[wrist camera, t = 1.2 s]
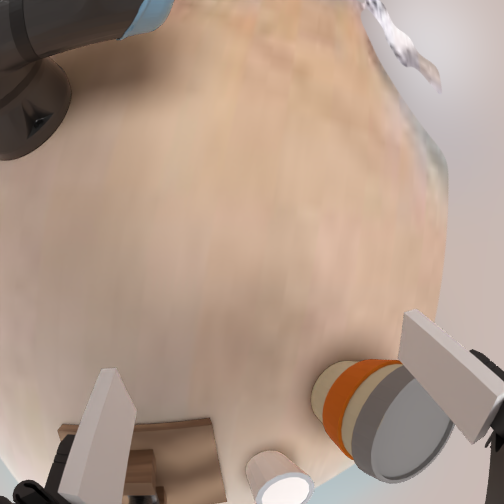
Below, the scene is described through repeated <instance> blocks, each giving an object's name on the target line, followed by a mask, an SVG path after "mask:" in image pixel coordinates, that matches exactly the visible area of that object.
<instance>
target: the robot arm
mask: <svg viewBox="0 0 504 504" xmlns="http://www.w3.org/2000/svg"><path fill="white" fill-rule="evenodd" d="M173 3H174V0H0V160H11V159H15V158H18V157H21V156H23V155H26V154H28V153H29V152H31V151H33V150H34V149H36V148H37V147H38V146H40V145H41V144H42V143H43V142H44V141H46V140H47V139H48V138H49V137H50V136H51V135H52V133H53V132H54V131H55V130H56V129H57V127H58V126H59V124H60V123H61V121H62V120H63V118H64V116H65V114H66V112H67V110H68V107H69V104H70V99H71V88H70V84H69V81H68V78H67V76H66V73H65V72H64V70H63V69H62V68H61V67H60V66H59V65H58V64H56V63H55V62H54V61H53V60H52V59H51V58H50V57H49V56H52V55H55V54H58V53H61V52H65V51H68V50H72V49H75V48H79V47H82V46H86V45H90V44H94V43H98V42H103V41H107V40H112V39H116V40H122V39H124V38H126V37H128V36H133V35H138V34H143V33H148V32H151V31H154V30H156V29H157V28H158V27H159V26H161V25H162V24H163V23H164V22H165V20H166V19H167V17H168V15H169V13H170V11H171V8H172V5H173ZM398 359H399V360H400V362H401V363H402V364H403V365H404V366H405V367H406V368H407V369H408V371H409V372H410V373H411V374H412V375H413V376H414V377H415V379H416V380H417V381H418V382H419V383H420V384H421V385H422V386H423V388H424V389H425V390H426V391H427V392H428V393H429V395H430V396H431V397H432V398H433V399H434V400H435V401H436V403H437V404H438V405H439V406H440V407H441V408H442V410H443V411H444V412H445V413H446V414H447V416H448V417H449V418H450V419H451V420H452V421H453V423H454V424H455V425H456V426H457V427H458V429H459V430H460V431H461V432H462V433H463V435H464V436H465V437H466V438H467V439H468V441H469V442H470V443H471V444H474V443H475V442H477V441H478V440H480V439H481V438H482V437H484V436H485V435H486V433H487V431H488V429H489V428H490V426H491V427H492V429H493V430H494V431H493V432H492V434H491V436H490V437H489V439H488V441H487V442H486V444H485V448H486V447H487V446H488V445H489V443H490V442H491V446H490V448H491V457H490V469H489V479H488V487H487V495H486V501H485V504H504V371H502V370H501V369H500V368H499V367H498V366H496V365H495V364H494V363H493V362H492V361H490V359H488V358H487V357H486V356H485V355H484V354H482V353H480V352H478V351H475V350H473V349H472V350H470V351H468V350H467V349H466V348H464V347H463V346H462V345H461V344H459V343H458V342H457V341H456V340H455V339H454V338H452V337H451V336H450V335H449V334H447V333H446V332H445V331H444V330H443V329H441V328H440V327H439V326H438V325H436V324H435V323H434V322H433V321H431V320H430V319H429V318H428V317H426V316H425V315H424V314H423V313H421V312H420V311H419V310H418V309H414V310H411V311H407V312H404V317H403V325H402V333H401V340H400V347H399V354H398ZM136 415H137V410H136V408H135V406H134V404H133V402H132V400H131V398H130V396H129V394H128V391H127V389H126V387H125V385H124V383H123V381H122V379H121V377H120V374H119V372H118V370H117V368H105V369H101V371H100V373H99V376H98V378H97V381H96V383H95V386H94V388H93V391H92V393H91V396H90V398H89V401H88V403H87V406H86V408H85V411H84V414H83V416H82V419H81V422H80V425H79V427H78V430H77V433H76V435H72V434H67V435H66V437H65V438H64V439H63V440H62V441H61V442H60V445H59V447H58V450H57V455H56V456H55V458H54V463H53V464H52V467H51V470H50V473H49V476H48V479H47V482H46V485H45V488H43V487H42V486H41V485H40V484H39V483H37V482H35V481H33V480H25V481H22V482H20V483H19V484H18V485H17V486H16V487H15V489H14V492H13V501H14V502H15V503H12V502H11V501H9V500H8V499H7V498H5V497H4V496H0V504H122V496H123V489H124V482H125V476H126V469H127V463H128V457H129V452H130V446H131V440H132V435H133V430H134V425H135V420H136Z"/></svg>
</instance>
